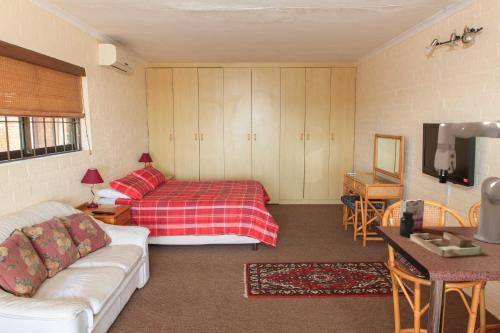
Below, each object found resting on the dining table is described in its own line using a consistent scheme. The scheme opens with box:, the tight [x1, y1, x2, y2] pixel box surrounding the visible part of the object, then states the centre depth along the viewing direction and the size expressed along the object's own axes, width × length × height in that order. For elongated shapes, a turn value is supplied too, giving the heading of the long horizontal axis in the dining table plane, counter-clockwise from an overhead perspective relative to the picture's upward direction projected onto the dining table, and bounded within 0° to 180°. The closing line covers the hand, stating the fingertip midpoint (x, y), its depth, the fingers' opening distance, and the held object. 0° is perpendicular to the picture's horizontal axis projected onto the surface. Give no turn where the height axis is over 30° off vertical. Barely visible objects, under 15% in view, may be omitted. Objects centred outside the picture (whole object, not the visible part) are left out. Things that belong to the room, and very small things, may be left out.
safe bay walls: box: [439, 243, 483, 257], centre depth 161 cm, size 19×9×3 cm, turn 102°
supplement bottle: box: [398, 212, 415, 238], centre depth 182 cm, size 7×7×12 cm
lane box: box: [409, 231, 462, 258], centre depth 167 cm, size 20×22×3 cm
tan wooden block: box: [449, 234, 473, 248], centre depth 162 cm, size 6×6×6 cm
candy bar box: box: [399, 198, 425, 231], centre depth 193 cm, size 11×5×16 cm, turn 105°
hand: (442, 183), depth 182 cm, fingers closed
